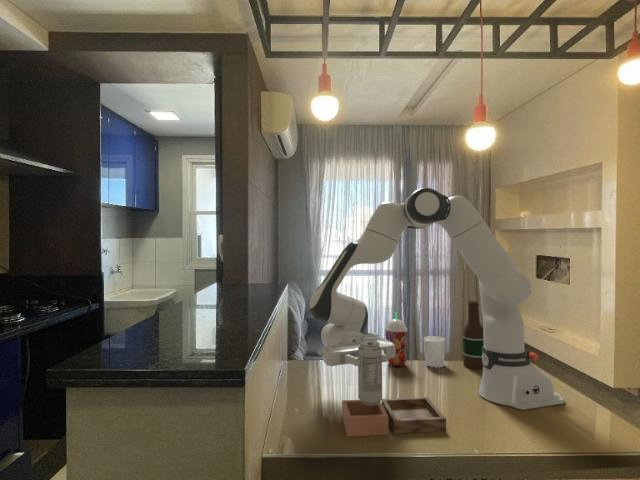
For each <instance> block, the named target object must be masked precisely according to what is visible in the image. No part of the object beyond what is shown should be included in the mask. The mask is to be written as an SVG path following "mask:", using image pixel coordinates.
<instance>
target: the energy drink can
mask: <svg viewBox="0 0 640 480" xmlns="http://www.w3.org/2000/svg"><path fill="white" fill-rule="evenodd" d="M358 357H359V358H360V359H361V362H360V363H361V365H359V366H357V378H358V379H357V380H358V382H357V384H358V386H357V387H358V389H357V390H358V391H357V392H358V395H357V396H358V400H361V403H363V404H365V405H369V406H373V405H377V404H379V403H380V402H382V399H383V362H382V349H381V347H380V346H379V342H377V341H374V340H364V341H361V342H360V346H359V348H358Z"/></svg>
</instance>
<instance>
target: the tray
mask: <svg viewBox="0 0 640 480" xmlns="http://www.w3.org/2000/svg"><path fill="white" fill-rule="evenodd" d="M381 404H382V406H383V407H384V409H385V411H386V413H387V415H388V426H390V428H391V430H392V433H393V434H408V433H409V434H411V433H412V434H413V433H429V432H430V433H431V432H435V433H436V432H447V417H445V416H444V414H442V412H440V410H439V409H438V408H437V407H436V405H435V404H434V403H433V402H432V401H431V400H430V398H429V397H428V396H425V397H424V396H423V397H421V396H419V397H400V398H399V397H398V398H394V397H393V398H382V400H381Z"/></svg>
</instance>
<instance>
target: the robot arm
mask: <svg viewBox="0 0 640 480" xmlns="http://www.w3.org/2000/svg"><path fill="white" fill-rule="evenodd" d="M433 224H437V225H438V226H441V227H442V228H443V229H444V230H445V232H446V233H447V236H448V237H449V238H450V240H451V241H452V244H453V245H454V246H455V248H456V249H457V251H458V252H459V255H460V256H461V257H462V259H463V260H464V262H465V263H466V264H467V266H469V268H470V269H471V271H472V272H473V274H474V275H475V276H476V278H477V279H478V287H479V289H478V290H479V298H480V308H481V315H482V327H483V338H484V346H483V347H482V363H483V369H482V376H481V380H480V386H479V388H478V389H479V390H478V395H479V396H480V397H482V398H484V399H485V400H487V401H489V402H493V403H496V404H498V405H504V406H509V407H512V408H515V409H518V410H523V411H525V410H530V409H531V410H532V409H538V408H544V407H550V406H555V405H563V404H564V402H565V401H564V397H562V395H560V394H559V393H558V392H556V391H555V390H554V389H555V388H554V385H553V381H552V379H551V378H550V376H548V374H546V373H545V372H543V371H542V370H541V369H540V368H538V367H537V366H535V365H534V364H533V362H532V361H535V362H536V361H538V359H539V355H538V354H537V353H535V352H533V351H531V352H529V351H528V350H527V349H526V348H525V323H524V319H523V316H522V313H521V308H520V307H521V305H522V304H523V303H525V302H526V301H528V300H529V298H530V296H531V294H532V292H533V291H532V290H533V288H532V287H533V286H532V283H531V281H530V279H529V278H528V277H527V275H526V274H525V273H524V272H523V269H521V268H520V267H519V265H518V264H517V262H516V261H515V260H514V259H513V258H512V256H511V255H510V254H509V253H508V252H507V250H506V249H505V248H504V247H503V246H502V245H501V243H500V242H499V240H498V239H497V237H496V236H495V235H494V234H493V232H492V230H491V228H490V227H489V225H488V223H486V221H485V220H484V218H483V217H482V215H481V214H480V212H479V211H478V210H477V208H475V206H474V205H473V204H472V203H471V202H470V201H469V200H468V199H467V198H466V197H464V196H463V195H458V194H457V195H453V196H449V197H448V196H446V195H445V194H443V193H441V192H439V191H437V190H435V189H433V188H431V187H430V188H429V187H421V188H418V189H416V190H414V191H413V192H411V194H410V195H409V196H408V197H407V198H406V200H405V201H404V202H403V203H396V202H393V201H384V202H381V203H379V205H378V206H377V207H376V209H375V210H374V212H373V214H372V215H371V217H370V218H369V221H368V223H367V224H366V227H365V229H364V231H363V232H362V234H361V236H360V237H359V238H358V239H357V240H355V241H352V242H351V241H350V242H349V243H348V244H347V245H346V246H345V247H344V248H343V250H342V252H341V253H340V255H339V256H338V257H337V259H336V261H335V262H334V264H333V265H332V267H331V268H330V269H329V271H328V272H327V275H326V276H325V278H324V279H323V281H322V282H321V283H320V285H319V286H318V288H317V289H316V290H315V291H314V293H313V294H312V296H311V298H310V300H309V303H308V308H309V311H310V314H311V315H312V317H313V318H314V320H316V321H320V322H323V323H325V322H326V325H324V326H323V328H322V329H321V332H320V338H321V342H322V344H323V345H324V346H322V348H321V349H318V351H317V354H318V355H319V356H321V357H322V361H323V363H324V365H326V366H329V367H335V366H341V365H353V366H354V367H358V366H359V365H361V363H360V362H361V359H360V358H359V357H358V348H359V346H360V342H361V341H364V340H374V341H377V342H379V346H380V347H381V349H382V363H387V362H388V359H389V358H394V357H395V353H396V350H395V345H394V344H393V343H392V342H390V341H388V340H386V338H385V337H384V338H383V337H381V336H379V334H378V333H376V332H364V330H365V329H366V327H367V324H368V322H369V321H368V320H369V312H368V308H367V305H366V303H365V302H364V301H361V300H359V299H357V298H354V297H351V296H349V295H346V294H343V293H341V292H339V291H337V290H338V288H339V286H340V285H341V283H342V282H343V280H344V278H345V277H346V275H347V274H348V272H349V270H351V269H352V268H353V267H355V266H357V265H361V264H362V265H365V264H367V265H368V264H371V265H372V264H375V265H376V264H381V263H384V262H386V261H388V260H389V259H391V258H392V257H393V255H394V253H395V252H396V249H397V247H398V244H399V242H400V240H401V237H402V235H403V233H404V231H405V230H406V229H415V230H416V229H417V230H419V229H425V228H427V227H430V226H431V225H433ZM531 360H532V361H531Z"/></svg>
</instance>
